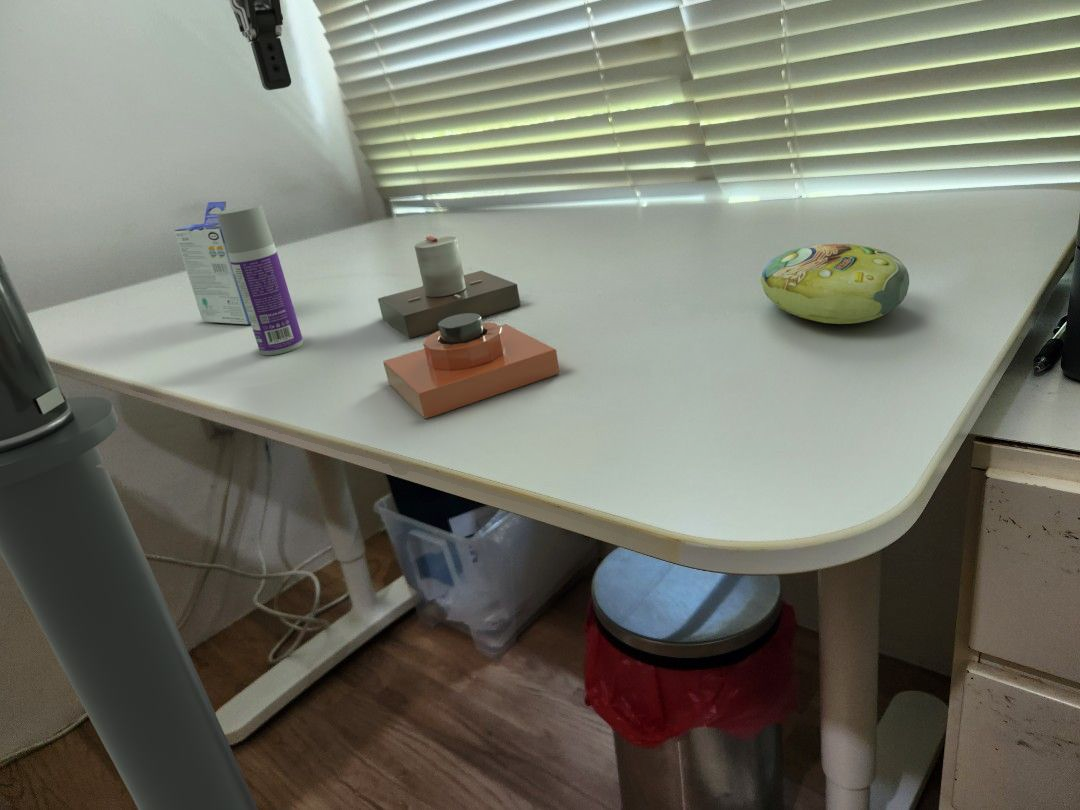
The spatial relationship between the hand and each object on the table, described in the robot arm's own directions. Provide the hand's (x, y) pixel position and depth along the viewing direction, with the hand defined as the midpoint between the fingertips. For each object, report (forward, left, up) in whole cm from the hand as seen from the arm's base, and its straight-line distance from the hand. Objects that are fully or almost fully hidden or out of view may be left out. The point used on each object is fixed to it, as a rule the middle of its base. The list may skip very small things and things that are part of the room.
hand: (278, 88), depth 63 cm
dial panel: (+13, +7, -25) cm, 29 cm away
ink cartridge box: (-7, +31, -25) cm, 41 cm away
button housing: (+7, -14, -25) cm, 29 cm away
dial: (+13, +7, -22) cm, 27 cm away
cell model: (+37, -25, -25) cm, 51 cm away
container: (-5, +12, -25) cm, 28 cm away
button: (+7, -14, -21) cm, 27 cm away
